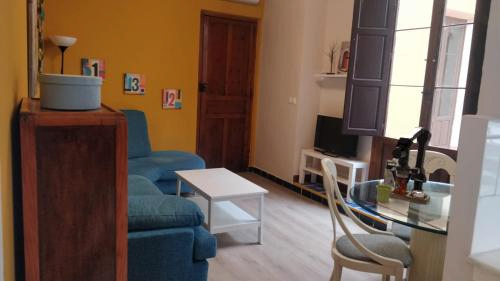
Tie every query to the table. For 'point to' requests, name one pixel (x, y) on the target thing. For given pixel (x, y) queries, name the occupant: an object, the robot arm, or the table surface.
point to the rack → (410, 197)
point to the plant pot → (383, 193)
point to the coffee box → (389, 173)
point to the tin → (418, 194)
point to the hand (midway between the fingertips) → (401, 182)
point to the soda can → (401, 184)
